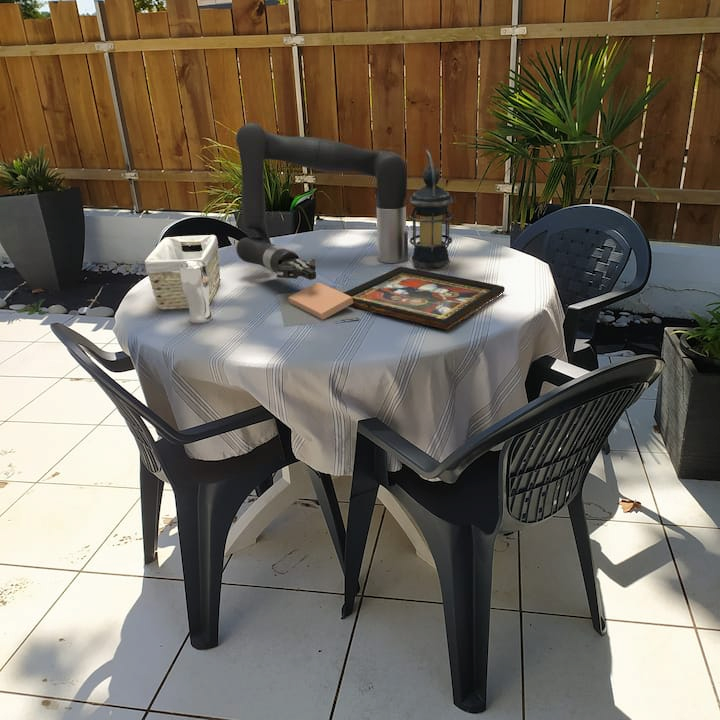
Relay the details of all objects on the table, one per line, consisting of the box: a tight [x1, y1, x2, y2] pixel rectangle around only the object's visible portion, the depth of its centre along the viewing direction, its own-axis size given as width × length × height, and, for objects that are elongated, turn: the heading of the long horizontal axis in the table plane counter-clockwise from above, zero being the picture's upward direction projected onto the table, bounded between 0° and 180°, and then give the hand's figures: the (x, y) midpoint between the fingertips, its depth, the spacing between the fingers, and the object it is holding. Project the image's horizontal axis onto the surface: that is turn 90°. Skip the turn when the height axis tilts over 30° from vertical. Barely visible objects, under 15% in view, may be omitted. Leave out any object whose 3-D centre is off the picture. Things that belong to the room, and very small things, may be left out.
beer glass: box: [179, 261, 214, 325], centre depth 169 cm, size 7×7×15 cm
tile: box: [288, 281, 353, 320], centre depth 174 cm, size 2×10×16 cm
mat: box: [276, 287, 360, 327], centre depth 176 cm, size 19×24×1 cm
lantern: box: [408, 149, 454, 269], centre depth 197 cm, size 14×13×35 cm
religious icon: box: [343, 266, 505, 330], centre depth 178 cm, size 38×35×3 cm
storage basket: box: [144, 234, 222, 311], centre depth 186 cm, size 24×16×15 cm
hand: (313, 275), depth 174 cm, fingers closed
